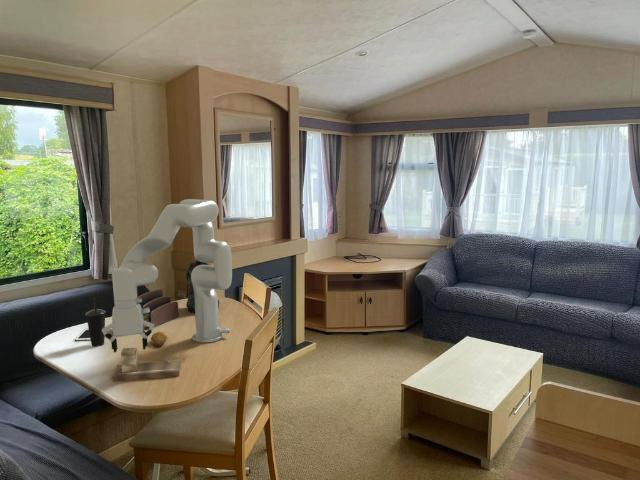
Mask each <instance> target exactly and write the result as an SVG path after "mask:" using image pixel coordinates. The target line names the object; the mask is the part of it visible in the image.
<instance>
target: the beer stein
mask: <svg viewBox="0 0 640 480" xmlns="http://www.w3.org/2000/svg"><path fill="white" fill-rule="evenodd" d="M199 265H209V263H205V262H200V261H198V260H195V262H191V263H190V264H189V267H188V268H187V270H186V272H185V277H186V282H187V284H188V286H189V291H188V296H187V301H186V305H185V306H186V308H187V309H186V310H187V311H188V313H191V314H194V315H195V297H194V289H193V285H192V280H191V273H192V271H193V269H194V268H195V267H196V266H199ZM215 291H216V289H215ZM216 292H217V291H216ZM220 304H221V303H220V300H219V299H218V308H220Z"/></svg>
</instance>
